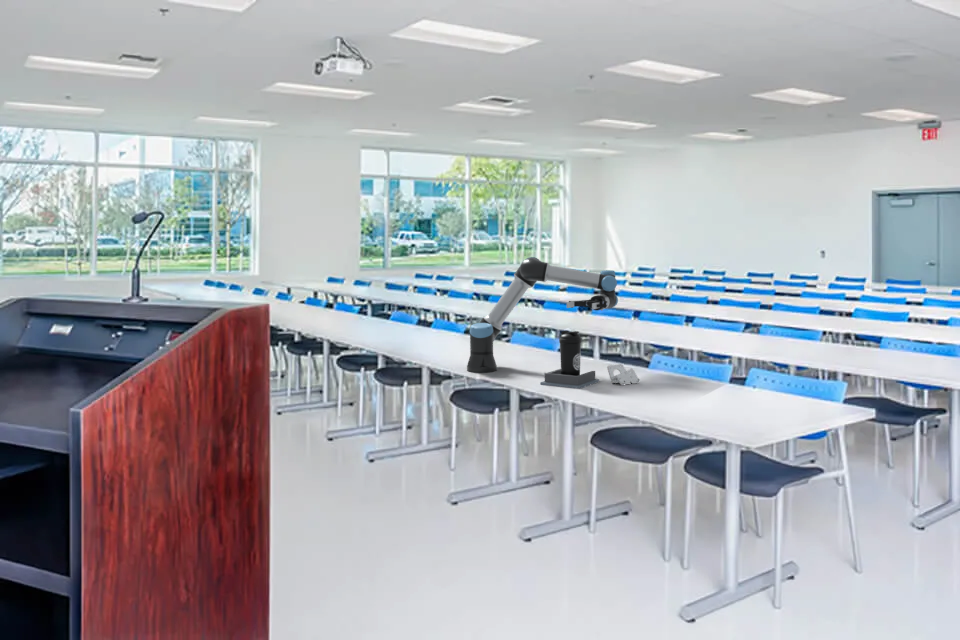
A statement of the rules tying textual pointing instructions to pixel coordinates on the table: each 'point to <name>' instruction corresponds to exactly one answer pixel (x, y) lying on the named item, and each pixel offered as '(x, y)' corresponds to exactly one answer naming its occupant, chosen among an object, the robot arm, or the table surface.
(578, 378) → the walled base tray
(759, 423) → the table surface
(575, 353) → the water bottle
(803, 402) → the table surface
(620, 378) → the mounting bracket
